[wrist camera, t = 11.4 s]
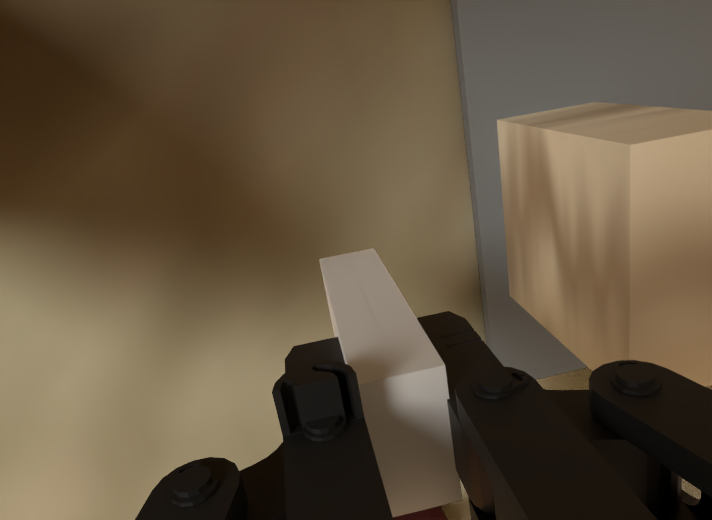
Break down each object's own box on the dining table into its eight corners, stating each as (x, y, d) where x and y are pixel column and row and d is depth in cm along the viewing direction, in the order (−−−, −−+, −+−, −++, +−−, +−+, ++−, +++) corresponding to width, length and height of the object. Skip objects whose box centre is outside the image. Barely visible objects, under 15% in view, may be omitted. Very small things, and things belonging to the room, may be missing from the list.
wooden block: (496, 119, 20) (629, 144, 13) (600, 101, 21) (789, 114, 13) (509, 295, 23) (629, 404, 15) (602, 276, 23) (765, 372, 15)
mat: (449, -20, 19) (454, -22, 19) (819, -83, 20) (835, -87, 20) (490, 381, 24) (495, 389, 24) (783, 313, 26) (795, 318, 25)
